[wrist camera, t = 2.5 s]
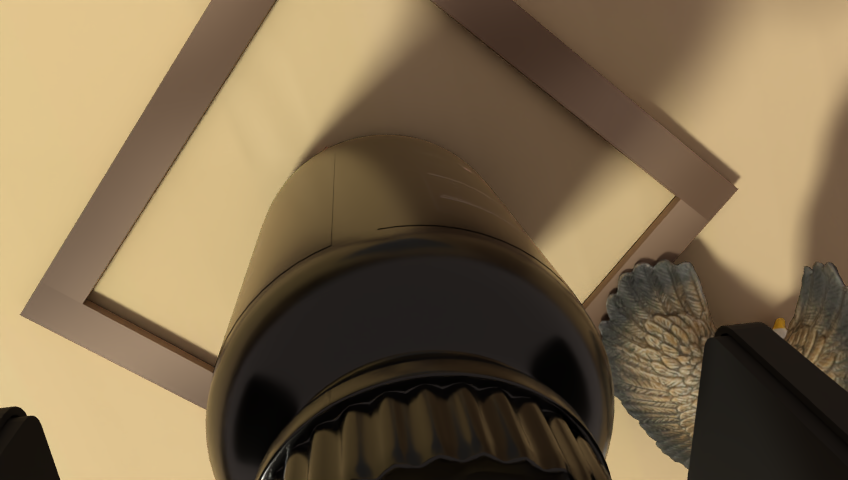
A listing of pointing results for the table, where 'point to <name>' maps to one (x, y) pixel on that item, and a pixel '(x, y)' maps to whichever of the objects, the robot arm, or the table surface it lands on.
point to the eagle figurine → (701, 343)
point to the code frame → (206, 73)
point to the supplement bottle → (404, 334)
